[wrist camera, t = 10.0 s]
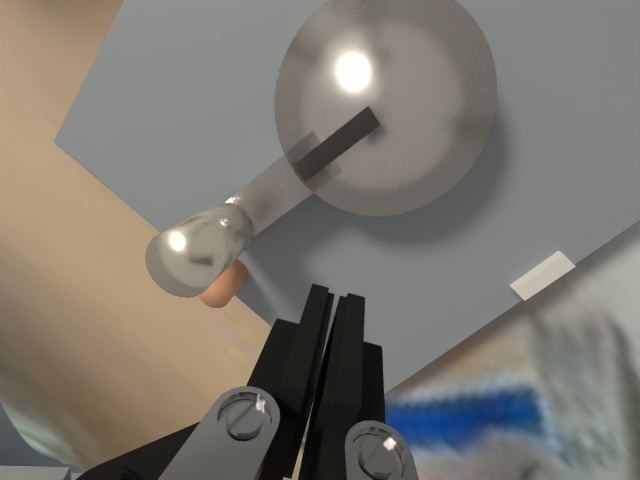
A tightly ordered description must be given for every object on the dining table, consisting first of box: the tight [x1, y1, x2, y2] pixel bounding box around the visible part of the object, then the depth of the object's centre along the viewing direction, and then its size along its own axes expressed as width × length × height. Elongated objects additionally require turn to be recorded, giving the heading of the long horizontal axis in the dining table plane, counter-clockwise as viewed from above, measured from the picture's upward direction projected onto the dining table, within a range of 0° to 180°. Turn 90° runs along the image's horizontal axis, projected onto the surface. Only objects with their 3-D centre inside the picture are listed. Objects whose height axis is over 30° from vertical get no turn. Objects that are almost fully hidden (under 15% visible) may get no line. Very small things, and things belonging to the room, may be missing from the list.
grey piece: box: [145, 0, 497, 297], centre depth 15 cm, size 16×10×8 cm, turn 127°
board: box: [54, 0, 640, 394], centre depth 17 cm, size 28×30×5 cm
